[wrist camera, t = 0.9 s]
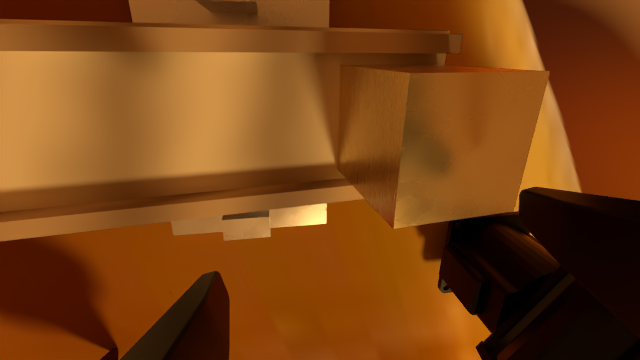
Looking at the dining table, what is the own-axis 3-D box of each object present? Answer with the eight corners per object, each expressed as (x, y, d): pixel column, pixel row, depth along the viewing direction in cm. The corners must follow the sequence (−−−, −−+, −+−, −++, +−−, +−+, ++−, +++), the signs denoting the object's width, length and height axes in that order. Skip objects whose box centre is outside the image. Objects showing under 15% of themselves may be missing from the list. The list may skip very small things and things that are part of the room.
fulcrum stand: (327, -50, 17) (351, -88, 12) (324, 218, 23) (339, 259, 18) (122, -61, 15) (62, -109, 11) (176, 229, 21) (153, 277, 17)
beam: (437, 31, 16) (463, 29, 14) (417, 180, 19) (437, 193, 17) (-431, 9, 9) (-593, 0, 7) (-244, 250, 12) (-326, 285, 10)
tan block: (437, 64, 16) (550, 71, 10) (424, 161, 17) (513, 211, 12) (340, 64, 14) (409, 73, 9) (337, 169, 16) (393, 228, 11)
